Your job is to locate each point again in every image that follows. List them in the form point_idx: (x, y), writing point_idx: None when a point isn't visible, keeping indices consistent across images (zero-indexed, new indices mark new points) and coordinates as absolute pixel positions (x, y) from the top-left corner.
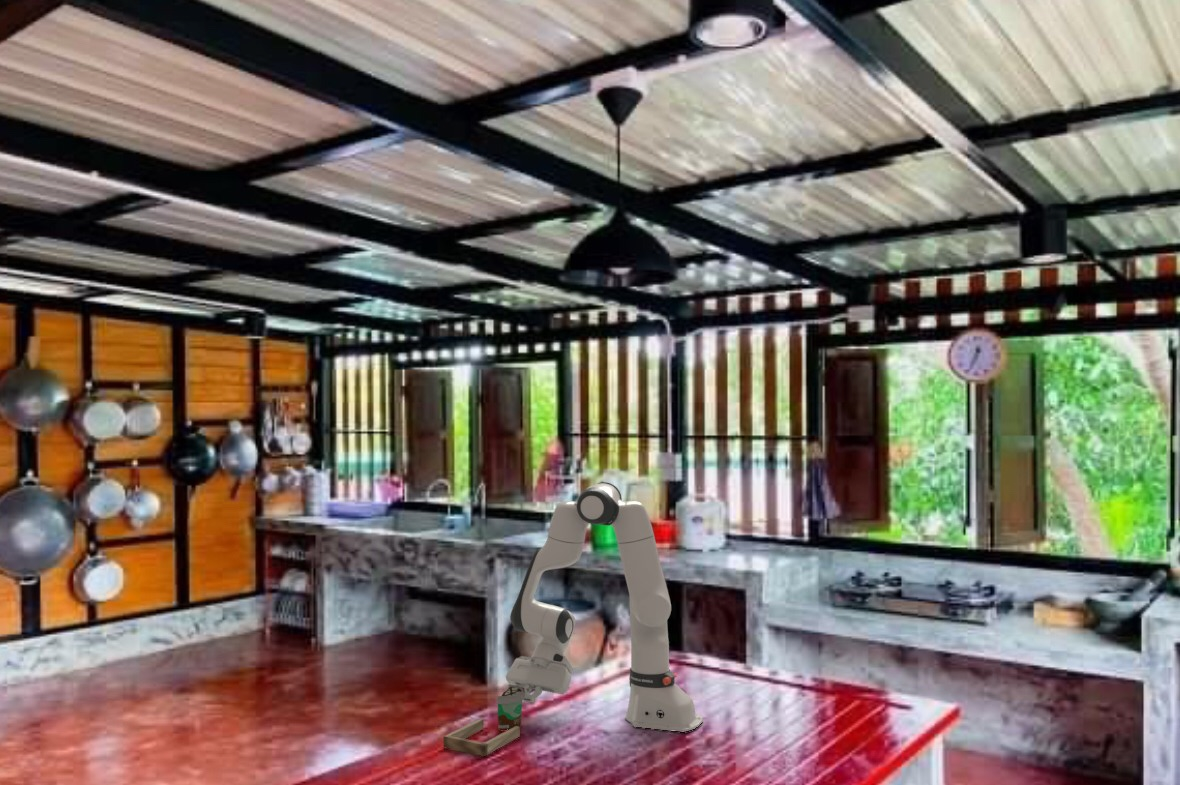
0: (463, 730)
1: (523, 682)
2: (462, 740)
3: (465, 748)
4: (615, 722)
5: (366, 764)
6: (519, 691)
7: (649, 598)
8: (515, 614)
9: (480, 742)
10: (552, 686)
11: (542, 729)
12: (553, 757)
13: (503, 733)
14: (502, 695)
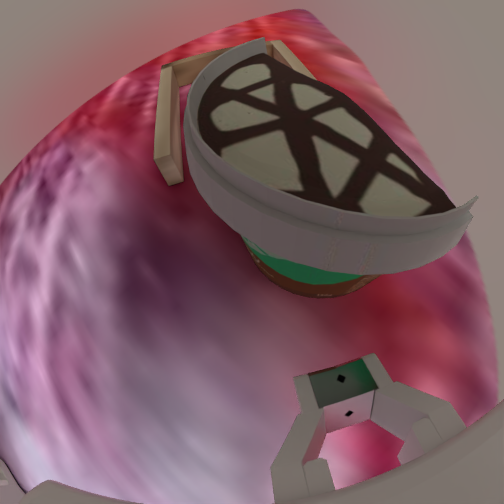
0: (290, 67)
1: (491, 409)
2: (225, 48)
3: None
4: None
5: (302, 19)
6: (295, 189)
7: None
8: None
9: (180, 63)
10: (94, 501)
11: (150, 306)
12: (45, 180)
13: (165, 104)
14: (299, 76)
